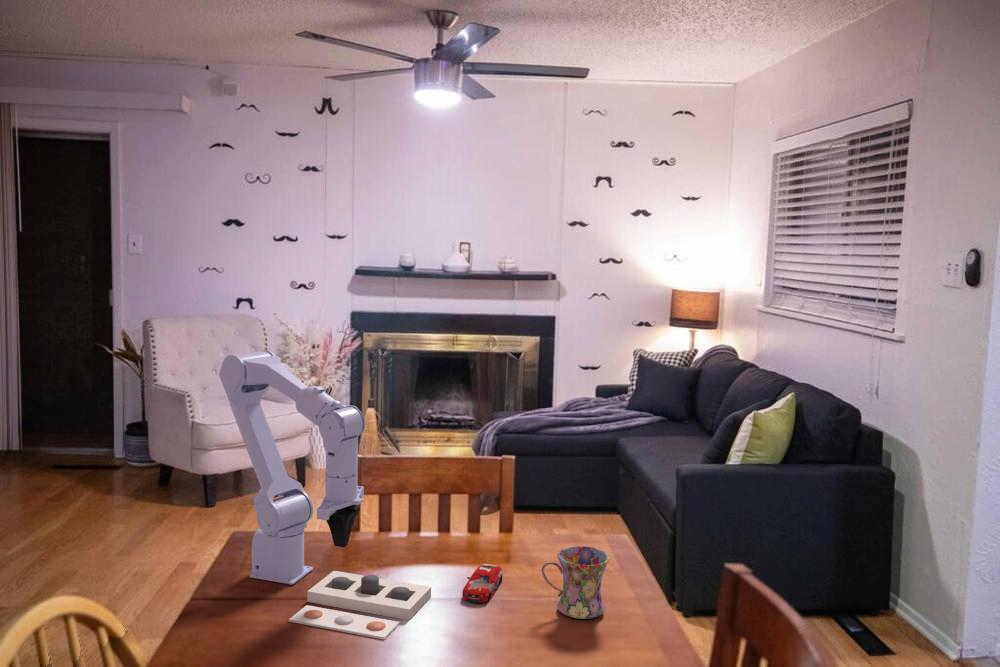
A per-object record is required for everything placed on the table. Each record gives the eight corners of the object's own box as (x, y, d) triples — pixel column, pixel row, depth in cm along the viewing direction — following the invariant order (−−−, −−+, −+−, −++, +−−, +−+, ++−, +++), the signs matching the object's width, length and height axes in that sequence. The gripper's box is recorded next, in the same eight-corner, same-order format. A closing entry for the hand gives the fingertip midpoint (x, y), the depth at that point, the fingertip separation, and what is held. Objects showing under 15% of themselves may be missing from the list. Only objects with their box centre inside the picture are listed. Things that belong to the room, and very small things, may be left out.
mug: (602, 600, 165) (605, 546, 163) (610, 624, 155) (613, 566, 154) (537, 599, 164) (540, 545, 163) (542, 623, 155) (544, 565, 154)
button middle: (358, 593, 161) (358, 580, 160) (365, 586, 164) (366, 574, 163) (374, 596, 160) (374, 583, 159) (381, 589, 163) (381, 576, 162)
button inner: (328, 595, 163) (328, 582, 162) (336, 588, 166) (336, 575, 165) (344, 598, 162) (344, 585, 161) (352, 591, 165) (352, 578, 164)
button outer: (388, 605, 159) (388, 592, 159) (395, 598, 162) (395, 585, 162) (404, 608, 158) (404, 595, 158) (411, 601, 161) (411, 588, 161)
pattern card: (288, 621, 152) (288, 618, 152) (306, 607, 158) (306, 603, 158) (384, 639, 147) (384, 636, 147) (399, 624, 153) (399, 620, 152)
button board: (307, 601, 160) (307, 591, 160) (333, 580, 170) (333, 570, 169) (409, 620, 154) (409, 609, 154) (430, 597, 164) (431, 586, 163)
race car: (486, 608, 161) (487, 587, 160) (458, 603, 162) (458, 582, 162) (506, 579, 173) (507, 560, 173) (480, 575, 175) (480, 556, 174)
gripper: (342, 487, 153) (341, 563, 154) (378, 465, 166) (377, 535, 168) (306, 482, 155) (305, 557, 156) (345, 461, 168) (344, 530, 170)
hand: (340, 545), depth 162 cm, fingers closed
